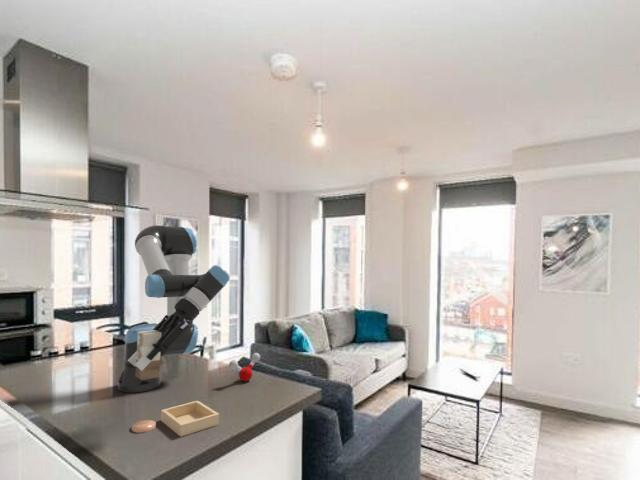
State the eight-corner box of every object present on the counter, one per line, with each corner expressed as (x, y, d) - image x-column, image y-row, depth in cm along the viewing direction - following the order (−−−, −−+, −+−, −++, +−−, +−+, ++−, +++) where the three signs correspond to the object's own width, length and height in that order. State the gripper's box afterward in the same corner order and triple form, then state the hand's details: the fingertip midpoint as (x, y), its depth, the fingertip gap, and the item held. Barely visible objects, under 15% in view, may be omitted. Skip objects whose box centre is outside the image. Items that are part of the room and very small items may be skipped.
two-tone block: (135, 376, 110) (137, 331, 110) (152, 372, 113) (155, 330, 114) (141, 380, 106) (144, 334, 107) (159, 376, 110) (161, 332, 110)
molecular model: (251, 374, 164) (252, 351, 165) (262, 376, 162) (263, 352, 162) (226, 385, 148) (227, 360, 149) (238, 388, 146) (239, 362, 146)
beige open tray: (160, 421, 114) (161, 409, 114) (197, 411, 123) (197, 400, 123) (180, 438, 104) (181, 425, 105) (218, 425, 113) (219, 413, 113)
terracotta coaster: (126, 433, 106) (127, 428, 106) (139, 423, 113) (139, 419, 113) (148, 434, 106) (148, 430, 106) (159, 424, 112) (160, 420, 112)
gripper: (212, 316, 115) (155, 380, 103) (186, 309, 128) (133, 366, 115) (197, 299, 112) (136, 364, 99) (172, 294, 124) (115, 351, 112)
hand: (134, 365), depth 107 cm, fingers closed on two-tone block, 5 cm apart
